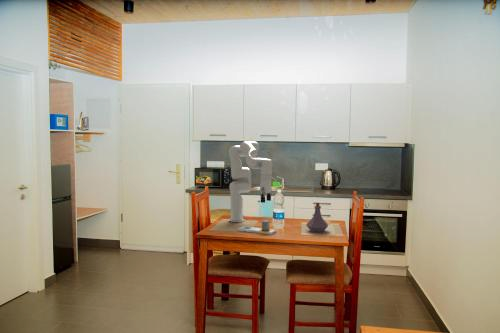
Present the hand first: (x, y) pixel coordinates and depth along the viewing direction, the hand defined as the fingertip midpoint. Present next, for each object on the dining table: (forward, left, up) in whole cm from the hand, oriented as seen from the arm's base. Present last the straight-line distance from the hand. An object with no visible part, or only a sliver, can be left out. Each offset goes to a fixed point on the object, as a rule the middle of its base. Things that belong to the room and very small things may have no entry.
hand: (265, 201), depth 274 cm
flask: (-23, +30, -22) cm, 44 cm away
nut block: (0, 0, -22) cm, 22 cm away
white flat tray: (0, -7, -22) cm, 23 cm away
